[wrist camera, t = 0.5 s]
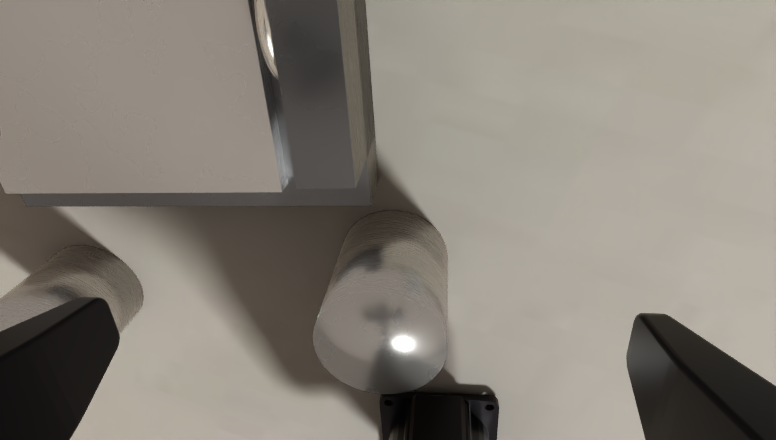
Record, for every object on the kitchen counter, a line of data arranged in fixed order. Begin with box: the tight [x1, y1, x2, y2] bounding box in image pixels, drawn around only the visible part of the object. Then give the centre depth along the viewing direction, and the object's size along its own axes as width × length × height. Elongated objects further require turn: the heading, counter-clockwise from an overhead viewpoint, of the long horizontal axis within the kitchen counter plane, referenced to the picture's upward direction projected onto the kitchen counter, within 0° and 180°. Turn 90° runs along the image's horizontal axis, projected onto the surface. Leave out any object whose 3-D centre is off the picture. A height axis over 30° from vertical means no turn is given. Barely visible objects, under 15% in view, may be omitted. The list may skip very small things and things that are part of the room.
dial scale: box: [0, 0, 378, 206], centre depth 17 cm, size 14×15×5 cm
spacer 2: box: [313, 210, 448, 394], centre depth 21 cm, size 5×5×6 cm
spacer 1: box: [0, 245, 144, 335], centre depth 24 cm, size 5×5×6 cm
